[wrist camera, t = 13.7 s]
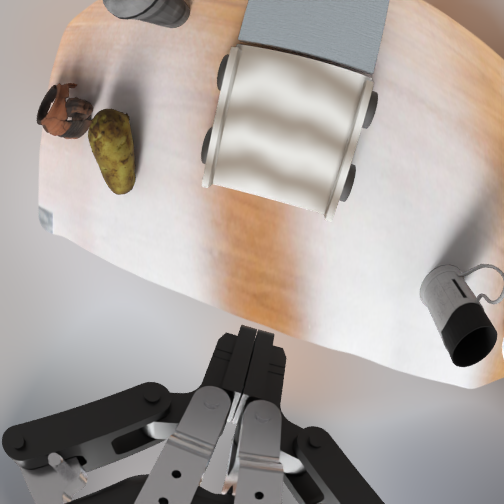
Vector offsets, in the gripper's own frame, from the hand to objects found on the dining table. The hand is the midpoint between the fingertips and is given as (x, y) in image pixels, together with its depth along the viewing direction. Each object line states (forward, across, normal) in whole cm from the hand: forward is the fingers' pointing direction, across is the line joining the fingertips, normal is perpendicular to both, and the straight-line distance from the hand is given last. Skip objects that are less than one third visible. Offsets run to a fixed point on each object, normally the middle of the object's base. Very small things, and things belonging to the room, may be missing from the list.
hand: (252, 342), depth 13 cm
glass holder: (+31, -30, +6) cm, 44 cm away
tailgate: (+26, +2, -16) cm, 31 cm away
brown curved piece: (+31, +37, -5) cm, 48 cm away
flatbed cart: (+31, +2, -7) cm, 32 cm away
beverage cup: (+31, +22, -21) cm, 43 cm away
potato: (+31, +26, +1) cm, 40 cm away
